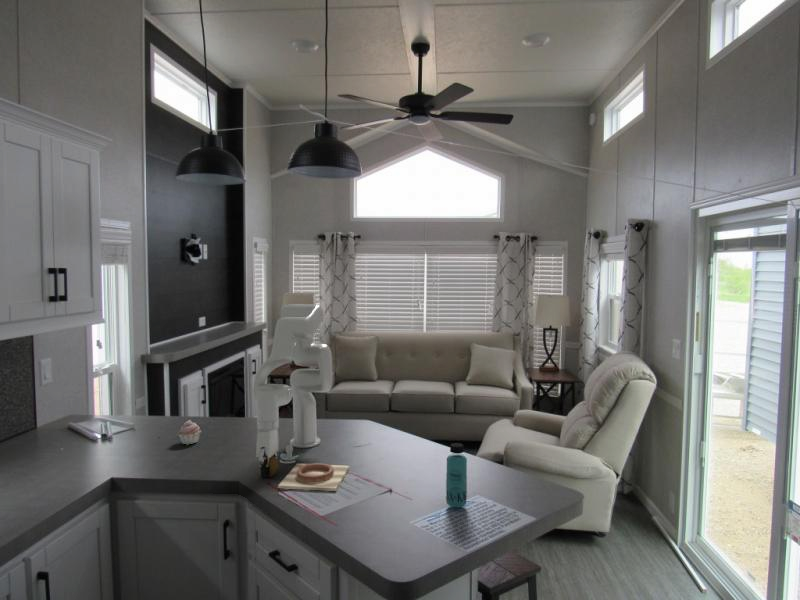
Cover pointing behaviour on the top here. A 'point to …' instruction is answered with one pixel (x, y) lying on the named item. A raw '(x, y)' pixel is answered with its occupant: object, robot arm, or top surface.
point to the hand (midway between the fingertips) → (269, 473)
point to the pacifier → (288, 455)
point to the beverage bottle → (456, 477)
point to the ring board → (317, 485)
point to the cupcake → (189, 433)
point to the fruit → (272, 465)
